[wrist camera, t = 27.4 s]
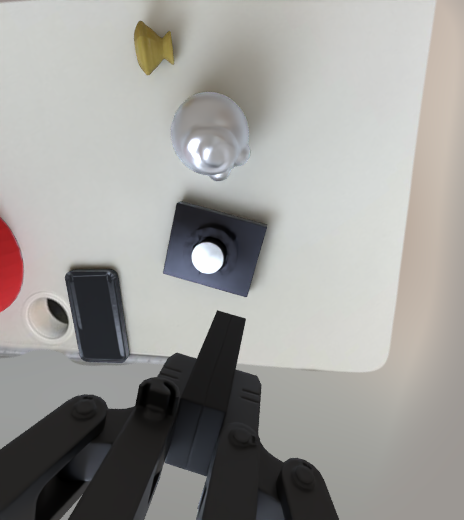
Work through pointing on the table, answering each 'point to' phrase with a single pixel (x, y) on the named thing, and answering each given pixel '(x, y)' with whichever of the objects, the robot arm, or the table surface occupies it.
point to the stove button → (208, 256)
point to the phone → (97, 315)
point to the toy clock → (9, 267)
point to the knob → (152, 48)
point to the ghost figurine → (210, 135)
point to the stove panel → (223, 230)
